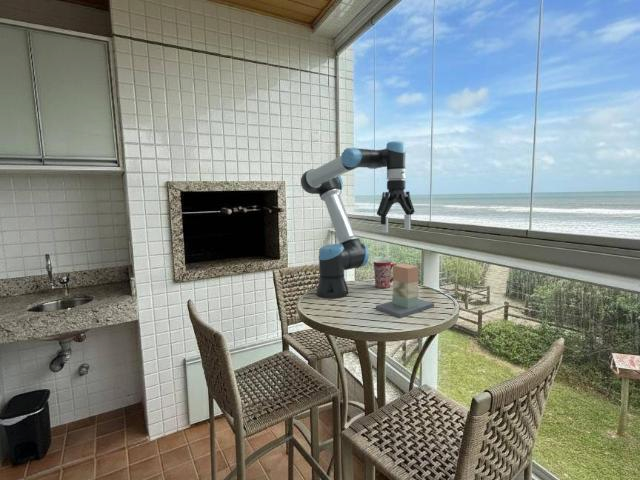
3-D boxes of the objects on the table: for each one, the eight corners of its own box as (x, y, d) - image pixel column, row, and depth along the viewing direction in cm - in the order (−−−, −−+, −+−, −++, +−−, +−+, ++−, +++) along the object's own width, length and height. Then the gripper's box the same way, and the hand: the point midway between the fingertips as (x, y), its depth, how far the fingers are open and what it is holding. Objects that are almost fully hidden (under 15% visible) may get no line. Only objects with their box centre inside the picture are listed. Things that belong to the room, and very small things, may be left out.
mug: (374, 289, 164) (373, 262, 163) (372, 284, 173) (372, 259, 172) (400, 289, 163) (400, 262, 162) (397, 284, 172) (397, 258, 171)
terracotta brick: (393, 280, 135) (392, 265, 135) (403, 277, 139) (403, 263, 138) (407, 283, 129) (407, 268, 128) (418, 281, 132) (418, 266, 131)
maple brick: (393, 294, 136) (392, 280, 135) (403, 291, 139) (403, 277, 139) (408, 298, 129) (408, 283, 129) (418, 295, 133) (418, 281, 132)
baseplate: (375, 309, 135) (375, 296, 134) (409, 299, 146) (408, 287, 146) (400, 318, 124) (400, 303, 124) (434, 306, 136) (434, 293, 135)
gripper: (380, 179, 128) (381, 234, 130) (423, 179, 142) (422, 229, 144) (367, 180, 134) (368, 232, 136) (409, 180, 148) (409, 228, 150)
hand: (396, 231), depth 140 cm, fingers open, 13 cm apart
